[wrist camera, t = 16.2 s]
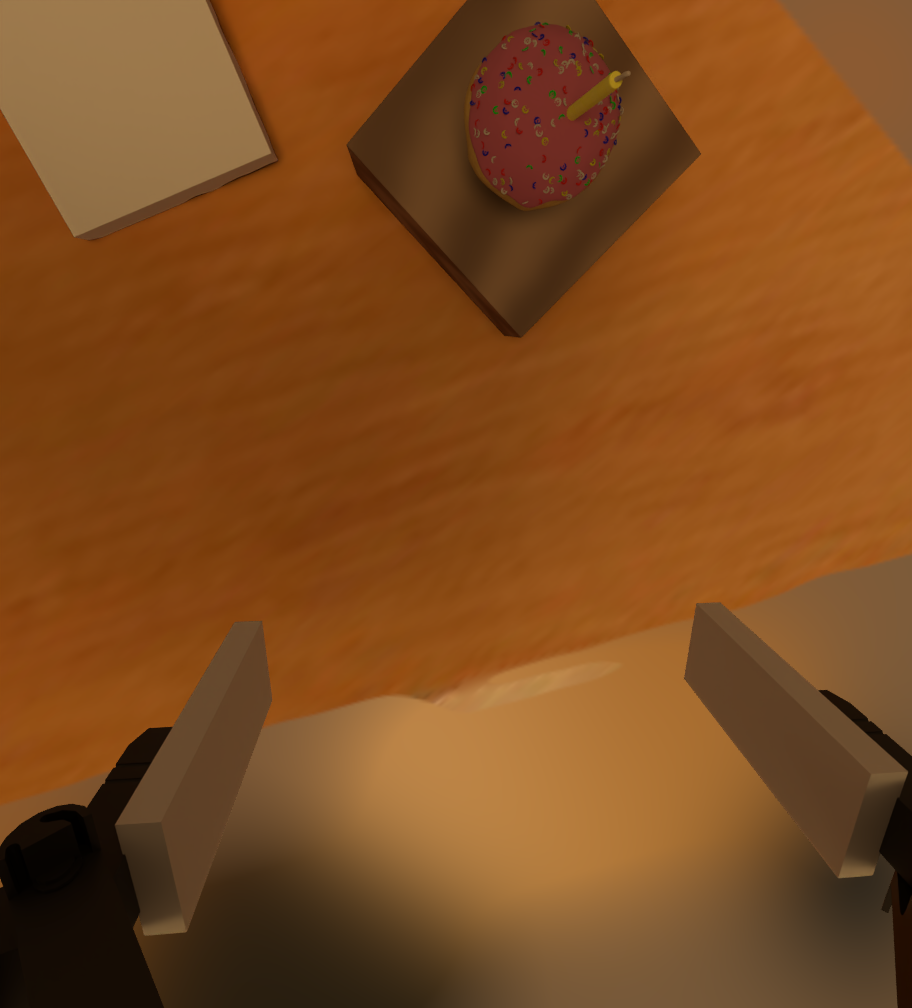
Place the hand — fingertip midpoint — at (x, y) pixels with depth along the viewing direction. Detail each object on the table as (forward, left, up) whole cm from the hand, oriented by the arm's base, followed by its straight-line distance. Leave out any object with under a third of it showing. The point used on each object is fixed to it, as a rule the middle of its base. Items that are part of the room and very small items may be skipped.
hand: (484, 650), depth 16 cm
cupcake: (-10, +18, -25) cm, 32 cm away
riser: (-10, +18, -32) cm, 38 cm away
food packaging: (-35, +4, -32) cm, 48 cm away
